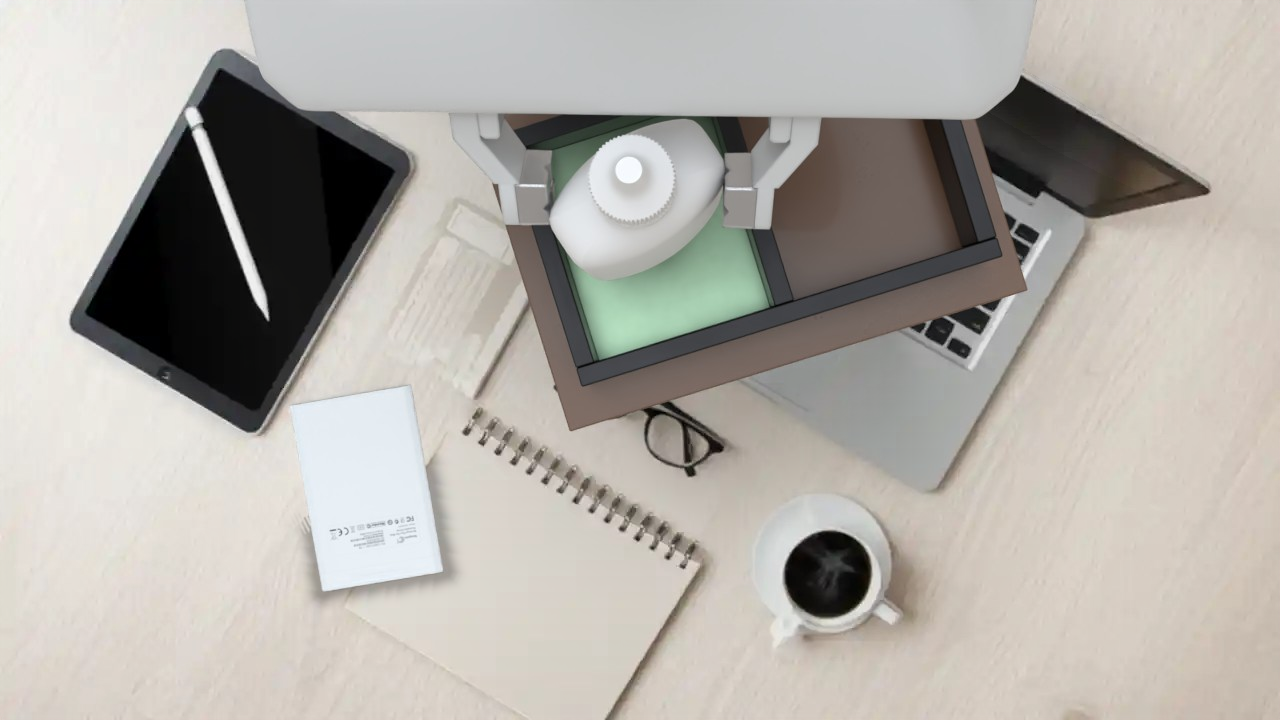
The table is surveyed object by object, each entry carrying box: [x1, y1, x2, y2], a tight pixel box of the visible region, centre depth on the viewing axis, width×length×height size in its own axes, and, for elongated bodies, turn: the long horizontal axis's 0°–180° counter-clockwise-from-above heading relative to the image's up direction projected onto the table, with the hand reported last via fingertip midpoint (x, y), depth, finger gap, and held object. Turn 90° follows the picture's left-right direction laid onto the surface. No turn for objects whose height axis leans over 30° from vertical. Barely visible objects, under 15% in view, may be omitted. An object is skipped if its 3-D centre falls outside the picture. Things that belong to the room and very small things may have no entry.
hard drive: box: [288, 384, 444, 592], centre depth 72 cm, size 2×8×12 cm
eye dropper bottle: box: [549, 119, 725, 281], centre depth 34 cm, size 4×6×12 cm
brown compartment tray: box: [491, 114, 1028, 432], centre depth 45 cm, size 14×20×4 cm
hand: (639, 215), depth 34 cm, fingers closed on eye dropper bottle, 5 cm apart
